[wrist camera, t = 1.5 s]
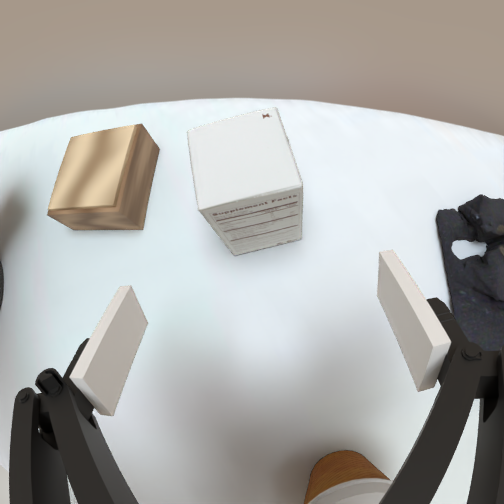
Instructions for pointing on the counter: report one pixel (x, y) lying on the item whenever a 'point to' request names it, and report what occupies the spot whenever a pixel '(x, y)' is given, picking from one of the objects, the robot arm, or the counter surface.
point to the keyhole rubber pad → (477, 269)
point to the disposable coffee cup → (346, 480)
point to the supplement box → (247, 181)
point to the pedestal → (105, 180)
